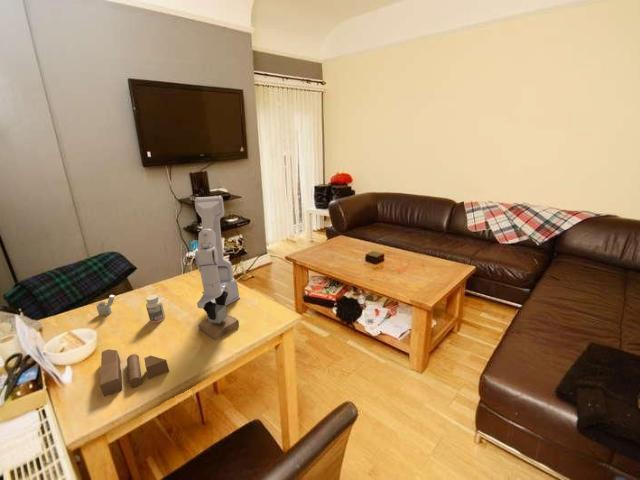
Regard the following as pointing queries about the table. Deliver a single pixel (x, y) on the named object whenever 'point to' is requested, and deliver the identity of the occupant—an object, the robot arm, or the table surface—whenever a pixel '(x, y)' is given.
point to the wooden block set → (113, 373)
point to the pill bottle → (155, 309)
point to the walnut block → (218, 327)
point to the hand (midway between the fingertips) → (217, 315)
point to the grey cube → (219, 314)
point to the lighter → (105, 306)
